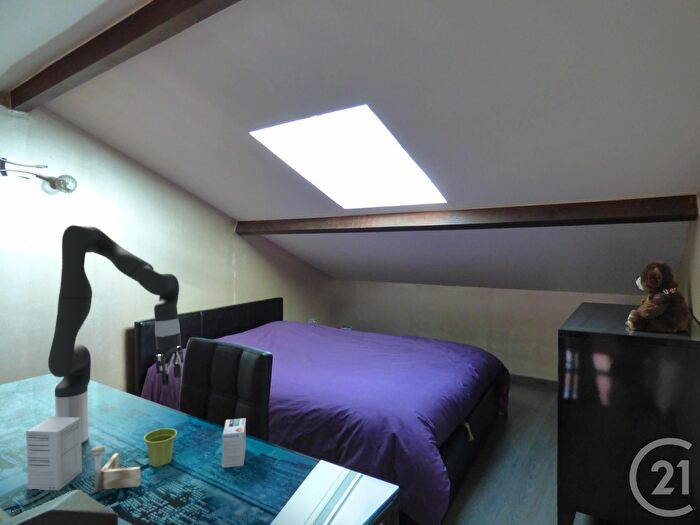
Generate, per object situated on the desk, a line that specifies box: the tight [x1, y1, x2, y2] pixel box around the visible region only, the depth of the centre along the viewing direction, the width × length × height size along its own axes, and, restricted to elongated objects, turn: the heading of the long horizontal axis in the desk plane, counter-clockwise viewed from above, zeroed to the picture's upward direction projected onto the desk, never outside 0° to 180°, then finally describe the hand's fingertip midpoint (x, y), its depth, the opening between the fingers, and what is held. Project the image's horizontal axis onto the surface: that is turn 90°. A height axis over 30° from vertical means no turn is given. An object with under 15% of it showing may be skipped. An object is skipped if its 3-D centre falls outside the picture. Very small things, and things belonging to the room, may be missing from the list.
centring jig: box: [90, 445, 141, 493], centre depth 111 cm, size 14×10×12 cm
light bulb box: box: [221, 417, 247, 468], centre depth 126 cm, size 11×7×11 cm, turn 12°
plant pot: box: [143, 428, 178, 467], centre depth 123 cm, size 9×9×9 cm
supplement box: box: [25, 416, 83, 491], centre depth 113 cm, size 10×9×17 cm
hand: (172, 381), depth 131 cm, fingers open, 8 cm apart
